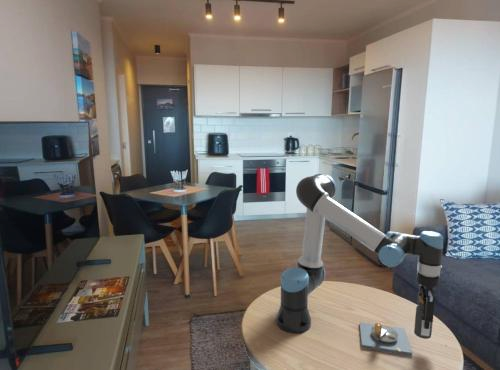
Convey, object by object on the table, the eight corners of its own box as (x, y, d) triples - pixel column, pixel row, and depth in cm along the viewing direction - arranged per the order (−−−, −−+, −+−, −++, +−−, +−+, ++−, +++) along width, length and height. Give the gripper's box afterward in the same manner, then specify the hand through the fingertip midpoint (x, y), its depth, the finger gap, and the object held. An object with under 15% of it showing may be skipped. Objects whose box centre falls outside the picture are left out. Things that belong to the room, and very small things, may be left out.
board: (361, 348, 129) (361, 345, 129) (359, 324, 145) (359, 321, 145) (412, 357, 125) (412, 353, 124) (404, 331, 140) (404, 327, 140)
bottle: (434, 337, 126) (438, 300, 123) (422, 340, 124) (425, 303, 121) (422, 328, 131) (426, 293, 129) (410, 331, 129) (413, 295, 127)
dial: (372, 343, 129) (373, 325, 128) (370, 326, 141) (371, 309, 139) (400, 348, 127) (401, 330, 126) (395, 330, 138) (396, 313, 137)
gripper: (447, 285, 113) (440, 347, 117) (432, 264, 131) (427, 318, 135) (423, 283, 115) (417, 343, 119) (412, 262, 133) (407, 315, 137)
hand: (422, 329), depth 127 cm, fingers closed on bottle, 6 cm apart
